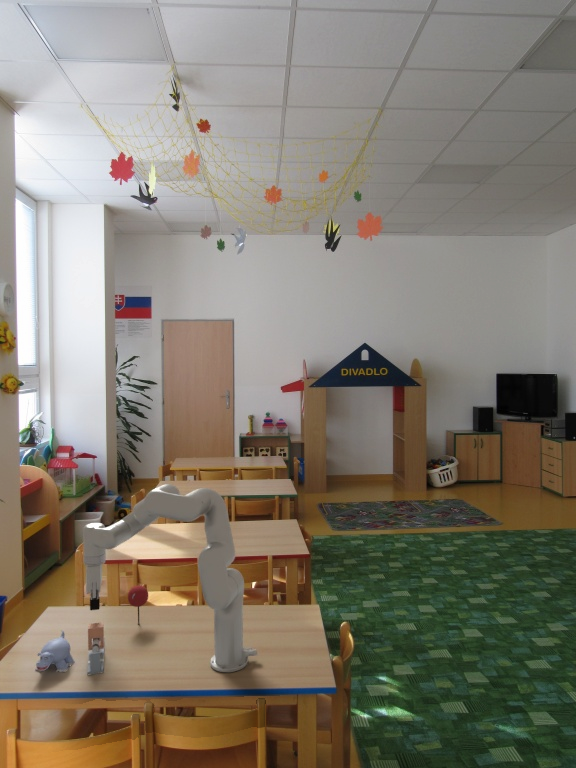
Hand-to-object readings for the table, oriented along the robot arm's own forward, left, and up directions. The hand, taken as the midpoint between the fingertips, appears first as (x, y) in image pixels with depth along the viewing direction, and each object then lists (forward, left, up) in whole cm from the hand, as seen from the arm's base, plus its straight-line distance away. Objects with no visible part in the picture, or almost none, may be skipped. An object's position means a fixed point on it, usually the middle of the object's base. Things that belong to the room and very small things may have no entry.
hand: (94, 608), depth 210 cm
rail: (0, +8, -13) cm, 16 cm away
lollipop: (-15, -13, -14) cm, 24 cm away
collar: (0, +7, -10) cm, 13 cm away
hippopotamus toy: (+13, +12, -14) cm, 22 cm away
